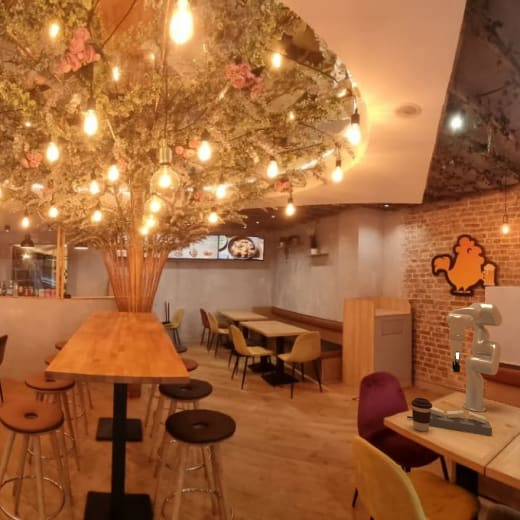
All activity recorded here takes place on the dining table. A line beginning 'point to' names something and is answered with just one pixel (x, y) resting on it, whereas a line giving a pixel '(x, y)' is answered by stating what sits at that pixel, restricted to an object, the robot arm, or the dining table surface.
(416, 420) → the coffee cup
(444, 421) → the power strip
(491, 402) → the dining table surface
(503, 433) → the dining table surface
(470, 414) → the rocker
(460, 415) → the rocker middle
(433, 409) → the rocker
